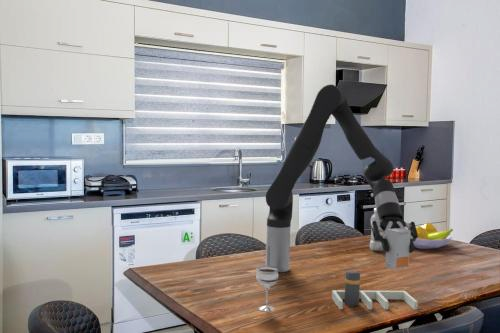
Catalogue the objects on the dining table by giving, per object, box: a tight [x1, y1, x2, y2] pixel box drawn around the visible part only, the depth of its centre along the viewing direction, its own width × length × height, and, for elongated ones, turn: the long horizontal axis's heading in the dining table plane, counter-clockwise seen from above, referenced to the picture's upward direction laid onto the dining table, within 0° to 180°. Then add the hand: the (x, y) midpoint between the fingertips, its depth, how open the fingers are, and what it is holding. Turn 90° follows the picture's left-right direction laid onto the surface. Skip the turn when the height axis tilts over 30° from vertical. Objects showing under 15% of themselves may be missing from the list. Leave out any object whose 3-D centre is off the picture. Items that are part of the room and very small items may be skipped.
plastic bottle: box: [369, 207, 384, 252], centre depth 216 cm, size 6×7×20 cm
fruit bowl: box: [406, 222, 454, 250], centre depth 228 cm, size 28×27×11 cm
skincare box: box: [384, 228, 411, 271], centre depth 145 cm, size 6×4×12 cm
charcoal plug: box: [343, 270, 361, 307], centre depth 144 cm, size 5×5×10 cm
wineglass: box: [255, 265, 280, 313], centre depth 139 cm, size 7×7×12 cm
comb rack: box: [331, 289, 418, 311], centre depth 145 cm, size 24×10×2 cm, turn 93°
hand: (399, 251), depth 143 cm, fingers closed on skincare box, 7 cm apart
